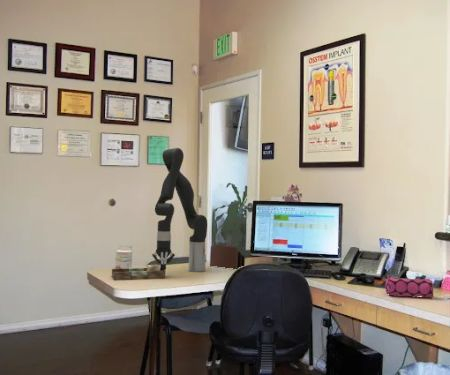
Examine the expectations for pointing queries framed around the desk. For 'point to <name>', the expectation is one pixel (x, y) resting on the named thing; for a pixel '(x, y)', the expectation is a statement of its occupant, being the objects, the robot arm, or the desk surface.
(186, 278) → the desk surface
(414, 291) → the pencil case
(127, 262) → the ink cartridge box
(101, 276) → the desk surface
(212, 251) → the letter holder
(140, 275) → the tunnel deck
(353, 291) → the desk surface
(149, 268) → the maple block
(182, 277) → the desk surface
